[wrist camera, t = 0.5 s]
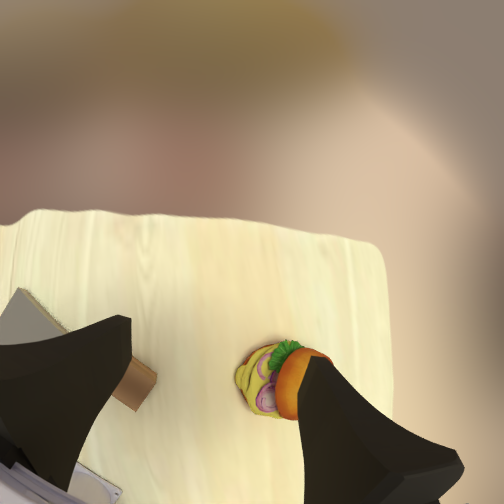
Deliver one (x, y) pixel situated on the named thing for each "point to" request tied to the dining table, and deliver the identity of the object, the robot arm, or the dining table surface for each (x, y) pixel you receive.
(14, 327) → the slate base
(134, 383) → the walnut block
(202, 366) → the dining table surface
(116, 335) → the robot arm
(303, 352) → the cheeseburger
